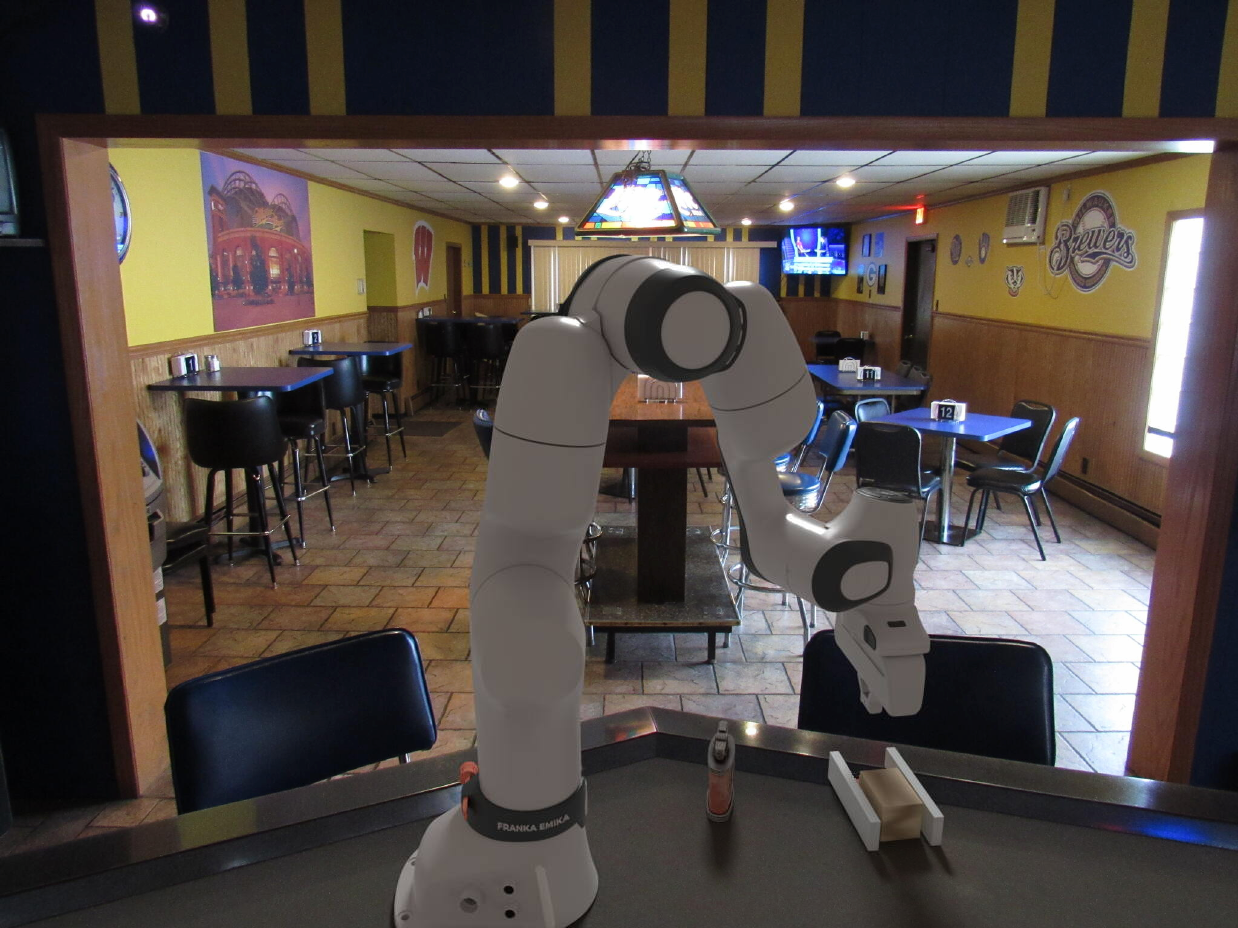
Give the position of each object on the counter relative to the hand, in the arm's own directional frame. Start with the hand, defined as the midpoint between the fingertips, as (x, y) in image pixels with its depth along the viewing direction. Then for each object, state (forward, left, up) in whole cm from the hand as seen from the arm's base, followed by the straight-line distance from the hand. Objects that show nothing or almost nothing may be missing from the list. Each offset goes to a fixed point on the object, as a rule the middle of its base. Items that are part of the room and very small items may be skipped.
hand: (870, 707), depth 110 cm
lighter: (-21, -3, -11) cm, 23 cm away
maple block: (-1, -9, -11) cm, 14 cm away
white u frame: (-1, -7, -11) cm, 12 cm away
